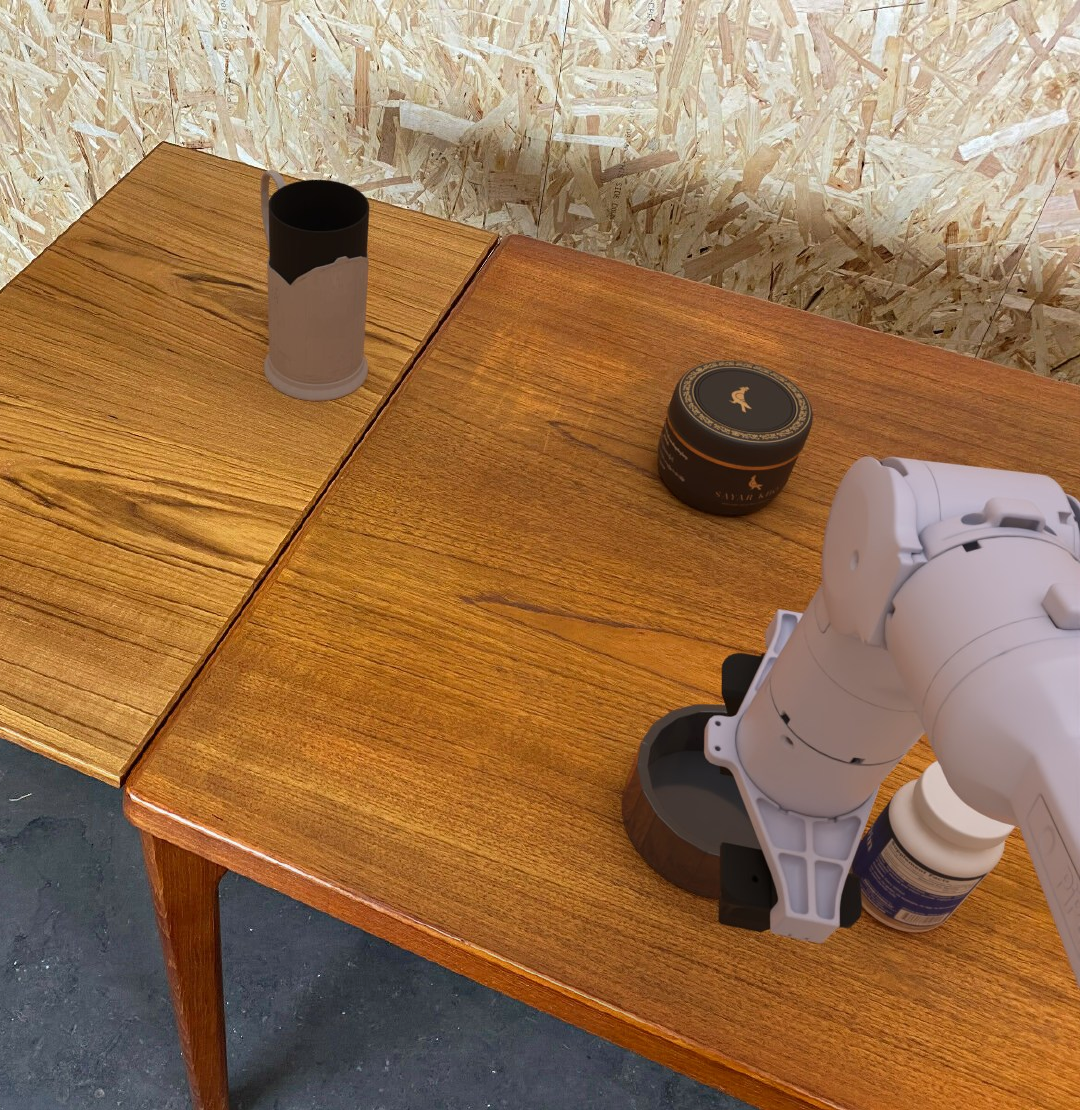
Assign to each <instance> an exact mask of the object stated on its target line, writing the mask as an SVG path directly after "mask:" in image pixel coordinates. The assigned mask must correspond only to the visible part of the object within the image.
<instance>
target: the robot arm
mask: <svg viewBox="0 0 1080 1110" xmlns="http://www.w3.org/2000/svg"><path fill="white" fill-rule="evenodd" d="M822 543H823V544H822V551H821V566H820V567H821V568H820V569H821V571H820V574H821V576H820V577H821V584H820V585H819V586H818V588H817V589H816V591H815V594H814V595H813V596H812V599H811V600H810V602H809V604H808V605H807V607H806V609H805V611H804V612H797V611H792V610H786V609H780V608H778V609H777V610H776V613H775V614H774V615H773V617H772V619H771V621H770V623H769V624H768V626H767V628H766V630H765V632H764V640H765V641H764V645H765V648H766V649H767V650H766V651H765V652H762V653H761V655H756V654H751V653H745V652H736V653H731V654H729V655H728V656H727V657H726V658H724V660H723V662H722V664H721V688H720V689H721V692H720V693H721V698H722V700H723V702H724V705H725V706H726V709H727V717H725V716H713V717H712V718H710V719H709V721H708V723H707V725H706V727H705V734H704V754H705V757H706V759H707V760H708V761H709V762H710V763H712V764H715V765H718V766H720V774H722V775H727V776H732V777H734V778H735V781H736V783H737V786H738V789H739V791H740V794H741V796H742V799H743V802H744V804H745V807H746V809H747V812H748V815H749V817H750V820H751V822H752V825H753V827H754V830H755V833H756V835H757V838H758V840H759V843H760V846H761V848H762V850H760V849H755V848H750V847H745V846H740V845H735V844H730V843H725V842H722V844H721V845H720V889H721V895H720V898H719V899H718V907H717V908H718V911H717V912H718V915H717V917H718V922H719V924H720V925H722V926H728V927H731V928H732V927H733V928H737V929H742V930H747V931H751V932H756V933H764V932H767V931H768V930H769V931H770V933H771V934H773V935H778V936H783V937H788V938H789V939H796V940H801V941H805V942H806V941H807V942H812V943H817V944H823V943H824V942H826V940H827V939H828V938H829V937H831V935H832V934H833V933H834V932H835V931H837V930H838V929H839V928H842V929H850V928H851V927H852V926H854V925H855V924H856V923H857V922H858V921H859V920H860V918H861V915H862V912H863V907H862V898H861V884H860V877H859V876H858V875H856V874H851V873H848V872H849V870H850V867H851V864H852V861H853V859H854V856H855V853H856V850H857V848H858V845H859V843H860V841H861V840H862V838H863V834H864V831H865V828H866V826H867V823H868V820H869V817H870V815H871V813H872V809H873V807H874V804H875V802H876V798H877V796H878V793H879V792H880V791H879V790H880V786H881V784H882V783H883V782H884V781H885V780H886V778H887V777H888V776H889V775H890V774H891V773H892V772H893V770H894V769H895V768H896V767H897V766H898V765H899V764H900V762H901V761H902V760H903V759H904V758H905V756H906V755H907V754H908V753H909V752H910V751H911V749H912V748H913V747H914V746H915V745H916V744H917V743H918V741H919V740H920V739H922V737H923V736H924V735H925V736H926V738H927V740H928V742H929V745H930V747H931V749H932V752H933V754H934V756H935V758H936V761H938V763H939V765H940V766H941V769H942V771H943V774H944V776H945V778H946V780H947V782H948V784H949V786H950V787H951V789H952V790H953V792H954V793H955V794H956V795H957V796H958V797H959V798H960V799H961V800H962V801H963V802H964V803H965V804H966V805H968V806H969V807H971V808H972V809H974V810H975V811H977V812H978V813H980V814H982V815H984V816H986V817H988V818H990V819H993V820H996V821H999V822H1001V823H1005V824H1009V825H1012V826H1015V828H1016V827H1017V828H1019V831H1020V833H1021V836H1022V839H1023V842H1024V844H1025V847H1026V850H1027V852H1028V855H1029V858H1030V860H1031V863H1032V866H1033V868H1034V871H1035V873H1036V877H1037V880H1038V881H1039V884H1040V887H1041V890H1042V892H1043V895H1044V898H1045V900H1046V903H1047V906H1048V909H1049V912H1050V914H1051V916H1052V919H1053V922H1054V925H1055V928H1056V930H1057V932H1058V936H1059V938H1060V941H1061V944H1062V946H1063V949H1064V952H1065V954H1066V957H1067V959H1068V963H1069V965H1070V968H1071V970H1072V973H1073V976H1074V978H1075V981H1076V984H1077V987H1078V989H1079V990H1080V501H1079V500H1078V499H1077V498H1076V497H1074V496H1072V495H1071V494H1068V493H1065V491H1064V490H1063V488H1062V486H1061V485H1060V484H1059V483H1058V482H1057V481H1056V480H1055V479H1053V478H1052V477H1050V476H1048V475H1045V474H1041V473H1032V472H1024V471H1015V470H1007V469H998V468H990V467H982V466H973V465H965V464H958V463H957V464H955V463H947V462H938V461H931V460H930V461H929V460H924V459H915V458H906V457H898V456H888V457H885V458H883V459H880V460H878V459H876V458H875V457H872V456H863V457H861V458H858V459H857V460H856V461H855V462H853V463H852V464H851V466H850V467H849V468H848V469H847V471H846V472H845V474H844V475H843V477H842V479H841V480H840V482H839V484H838V487H837V489H836V491H835V494H834V497H833V500H832V503H831V506H830V509H829V512H828V516H827V520H826V525H825V529H824V535H823V542H822Z"/></svg>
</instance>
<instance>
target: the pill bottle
mask: <svg viewBox="0 0 1080 1110" xmlns="http://www.w3.org/2000/svg"><path fill="white" fill-rule="evenodd" d="M1015 828H1016V826H1012V825H1009V824H1005V823H1001V822H999V821H996V820H993V819H990V818H988V817H986V816H984V815H982V814H980V813H978V812H977V811H975V810H974V809H972V808H971V807H969V806H968V805H966V804H965V803H964V802H963V801H962V800H961V799H960V798H959V797H958V796H957V795H956V794H955V793H954V792H953V790H952V789H951V787H950V786H949V784H948V782H947V780H946V778H945V776H944V774H943V771H942V769H941V766H940V765H939V763H938V760H935V761H934V762H932V763H930V764H929V765H928V766H927V767H926V769H924V771H923V772H922V773H921V775H920V776H919V777H918V778H915V779H913V780H911V781H909V782H906V783H905V784H903V785H902V786H900V788H898V790H897V791H896V792H895V793H894V794H893V795H892V797H891V798H890V799H889V801H888V802H887V804H886V805H885V807H884V808H883V810H882V811H881V812H880V814H878V816H877V818H876V819H875V821H874V822H873V823H872V825H871V827H869V829H868V830H867V831H866V833H865V834H864V835H863V836H862V838H861V840H860V842H859V845H858V848H857V850H856V853H855V856H854V859H853V861H852V864H851V867H850V870H849V872H848V873H851V874H856V875H858V876H859V877H860V884H861V898H862V909H864V910H865V911H866V912H867V913H868V914H869V915H871V916H872V917H873V918H874V919H876V920H877V921H878V922H880V923H882V924H884V925H885V926H887V927H889V928H892V929H894V930H898V931H901V932H906V933H924V932H925V933H926V932H928V931H932V930H935V929H937V928H938V927H940V926H941V925H943V924H944V923H945V922H947V920H948V919H949V918H950V917H951V916H952V915H953V914H954V913H955V911H956V910H957V909H958V908H959V907H960V906H961V905H962V904H963V902H964V901H966V899H967V898H969V896H970V895H971V894H972V892H974V890H975V889H976V888H977V887H978V886H979V884H981V883H982V881H984V879H985V878H986V877H987V876H988V875H989V874H990V872H991V871H993V870H994V869H995V868H996V866H997V865H998V864H999V862H1000V860H1001V858H1002V856H1003V854H1004V851H1005V845H1006V840H1007V838H1008V837H1009V836H1010V834H1011V833H1012V832H1013V831H1014V830H1015Z"/></svg>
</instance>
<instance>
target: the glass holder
mask: <svg viewBox="0 0 1080 1110" xmlns="http://www.w3.org/2000/svg"><path fill="white" fill-rule="evenodd" d="M271 178H272V180H273V182H274V183H275V186H276V189H277V190H276V191H274V192H273V193H272V195H271V196H270V179H271ZM259 193H260V209H261V217H262V224H263V229H264V234H265V239H266V245H267V249H268V253H269V254H268V255H269V256H268V258H267V261H266V267H267V270H266V271H267V320H268V321H267V322H268V326H267V327H268V352H267V354H266V356H265V358H264V363H263V374H264V376H265V378H266V380H267V381H268V382H269V384H270V385H271V386H272V388H274V389H276V390H277V391H278V392H280V393H282V394H284V395H286V396H288V397H291V398H293V399H299V400H302V401H312V402H325V401H331V400H336V399H340V398H343V397H345V396H349V395H350V394H352V393H353V392H355V391H357V390H358V389H359V388H360V387H361V386H363V384H364V383H365V382H366V379H367V377H368V374H369V364H368V360H367V358H366V356H365V337H366V322H367V321H366V319H367V318H366V317H367V304H368V303H367V302H368V284H369V282H368V281H369V268H370V267H369V264H370V263H369V261H370V260H369V254H368V243H369V238H368V237H369V225H370V224H369V223H370V202H369V200H368V197H366V195H365V194H364V193H362V191H360V190H359V189H357V188H355V187H353V186H351V185H349V184H346V183H344V182H340V181H334V180H329V179H306V180H305V179H304V180H298V181H294V182H290V183H288V184H286V182H285V180H284V178H283V177H282V175H281V174H280V173H279V172H278V170H274V169H269V170H266V171H264V172H262V174H261V177H260V191H259Z"/></svg>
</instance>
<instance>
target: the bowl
mask: <svg viewBox="0 0 1080 1110" xmlns="http://www.w3.org/2000/svg"><path fill="white" fill-rule="evenodd" d="M713 716H725V717H727V709H726V706H725V704H715V703H714V704H713V703H712V704H710V703H708V704H707V703H697V704H695V703H694V704H691V705H688V706H684V707H679V708H676V709H673V710H670V711H669V712H668V713H666V714H664V715H663V716H662V717H661V718H659V719H657V720H655V722H654V723H653V724H651V726H650V727H649V729H648V731H647V732H646V733H645V735H644V737H643V738H642V740H641V741H640V744H639V746H638V748H637V752H636V754H635V756H634V758H633V761H632V763H631V766H630V768H629V771H628V774H627V776H626V779H625V781H624V787H623V790H622V795H621V815H622V821H623V825H624V827H625V830H626V831H625V832H626V833H627V835H628V837H629V839H630V841H631V844H632V845H633V847H634V848H635V850H636V851H637V853H638V854H639V855H640V857H641V858H642V859H643V860H644V862H645V863H646V864H647V865H648V866H649V867H650V868H651V869H652V870H653V871H654V872H656V873H657V874H658V875H659V876H661V877H662V878H663V879H665V880H666V881H668V882H669V883H671V884H672V885H674V886H676V887H678V888H680V889H681V890H684V891H686V892H688V893H691V894H694V895H696V896H700V897H704V898H707V899H712V900H719V898H720V895H721V889H720V845H721V844H722V842H725V843H730V844H735V845H740V846H745V847H750V848H755V849H760V850H762V848H761V846H760V843H759V840H758V838H757V835H756V833H755V830H754V827H753V825H752V822H751V820H750V817H749V815H748V812H747V809H746V807H745V804H744V802H743V799H742V796H741V794H740V791H739V789H738V786H737V783H736V781H735V778H734V777H732V776H727V775H722V774H720V766H718V765H715V764H712V763H710V762H709V761H708V760H707V759H706V757H705V754H704V734H705V727H706V725H707V723H708V721H709V719H710V718H712V717H713Z"/></svg>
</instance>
